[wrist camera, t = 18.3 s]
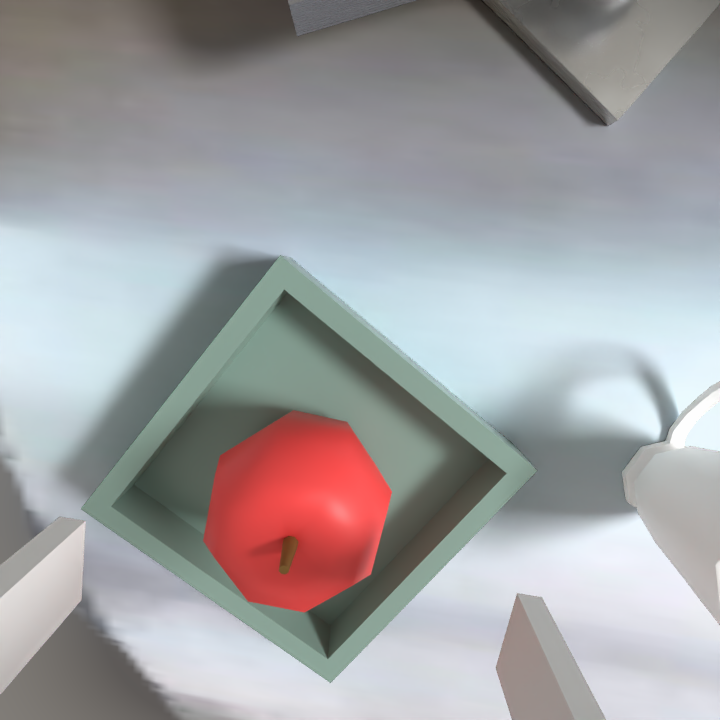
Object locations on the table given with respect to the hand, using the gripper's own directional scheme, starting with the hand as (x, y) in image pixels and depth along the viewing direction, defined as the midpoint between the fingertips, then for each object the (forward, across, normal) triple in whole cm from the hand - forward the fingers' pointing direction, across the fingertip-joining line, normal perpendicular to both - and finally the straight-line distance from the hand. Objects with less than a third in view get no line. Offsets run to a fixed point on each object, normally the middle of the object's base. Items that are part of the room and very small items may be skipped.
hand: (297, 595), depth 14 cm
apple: (+10, -1, 0) cm, 10 cm away
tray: (+10, -1, -1) cm, 10 cm away
